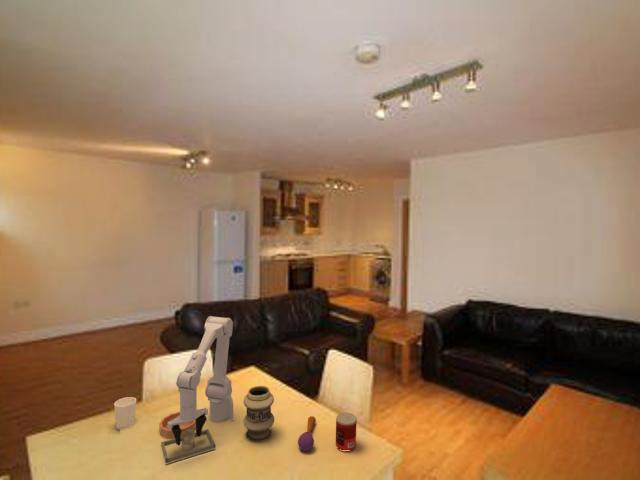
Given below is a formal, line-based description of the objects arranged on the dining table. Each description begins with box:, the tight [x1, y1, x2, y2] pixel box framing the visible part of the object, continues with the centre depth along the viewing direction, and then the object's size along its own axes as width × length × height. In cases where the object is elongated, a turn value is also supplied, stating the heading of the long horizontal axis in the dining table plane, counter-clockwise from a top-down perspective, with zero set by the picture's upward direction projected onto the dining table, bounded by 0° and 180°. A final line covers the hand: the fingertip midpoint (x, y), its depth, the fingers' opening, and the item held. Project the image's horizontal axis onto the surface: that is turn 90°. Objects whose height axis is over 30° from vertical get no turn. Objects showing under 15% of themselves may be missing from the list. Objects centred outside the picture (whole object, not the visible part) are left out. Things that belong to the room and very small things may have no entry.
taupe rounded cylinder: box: [181, 430, 196, 451], centre depth 132 cm, size 4×4×6 cm
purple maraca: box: [297, 415, 317, 452], centre depth 141 cm, size 6×6×20 cm
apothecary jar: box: [243, 385, 275, 443], centre depth 142 cm, size 12×12×18 cm
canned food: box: [335, 412, 357, 451], centre depth 136 cm, size 8×8×11 cm
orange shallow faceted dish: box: [158, 411, 196, 439], centre depth 144 cm, size 14×14×4 cm
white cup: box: [113, 396, 137, 431], centre depth 146 cm, size 8×8×10 cm
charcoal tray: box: [160, 429, 217, 467], centre depth 132 cm, size 17×11×2 cm, turn 121°
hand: (188, 439), depth 132 cm, fingers open, 7 cm apart
